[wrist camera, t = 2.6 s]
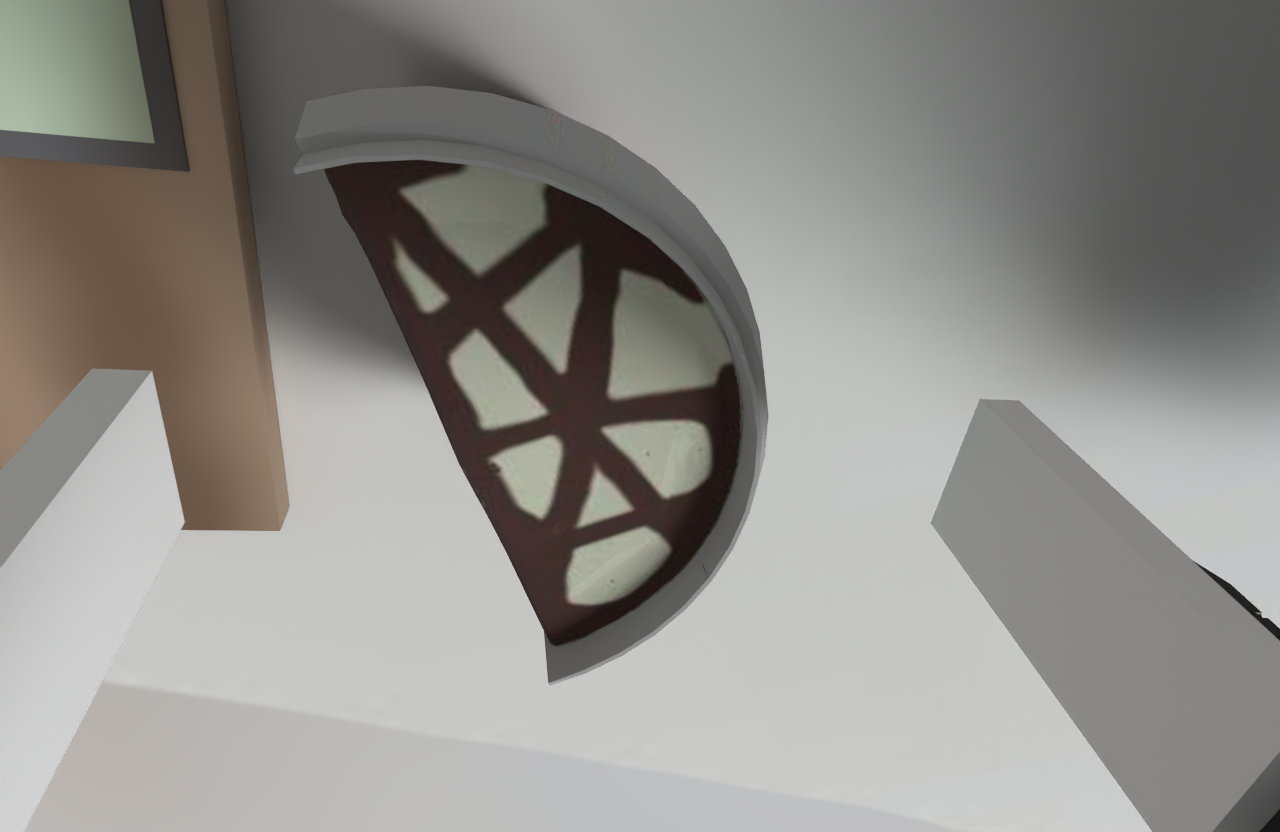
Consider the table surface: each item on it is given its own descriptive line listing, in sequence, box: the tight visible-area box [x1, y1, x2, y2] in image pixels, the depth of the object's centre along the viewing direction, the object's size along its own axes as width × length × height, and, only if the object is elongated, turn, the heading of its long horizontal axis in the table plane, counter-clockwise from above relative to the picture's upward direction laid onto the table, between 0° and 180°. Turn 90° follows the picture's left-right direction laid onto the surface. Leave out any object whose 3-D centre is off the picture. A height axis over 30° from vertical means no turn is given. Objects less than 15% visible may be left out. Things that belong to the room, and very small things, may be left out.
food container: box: [293, 86, 768, 685], centre depth 18 cm, size 12×6×10 cm, turn 14°
